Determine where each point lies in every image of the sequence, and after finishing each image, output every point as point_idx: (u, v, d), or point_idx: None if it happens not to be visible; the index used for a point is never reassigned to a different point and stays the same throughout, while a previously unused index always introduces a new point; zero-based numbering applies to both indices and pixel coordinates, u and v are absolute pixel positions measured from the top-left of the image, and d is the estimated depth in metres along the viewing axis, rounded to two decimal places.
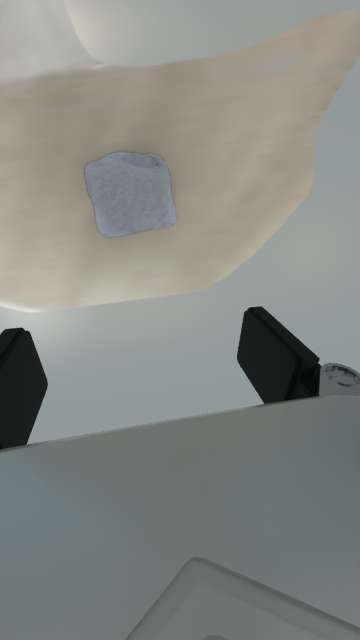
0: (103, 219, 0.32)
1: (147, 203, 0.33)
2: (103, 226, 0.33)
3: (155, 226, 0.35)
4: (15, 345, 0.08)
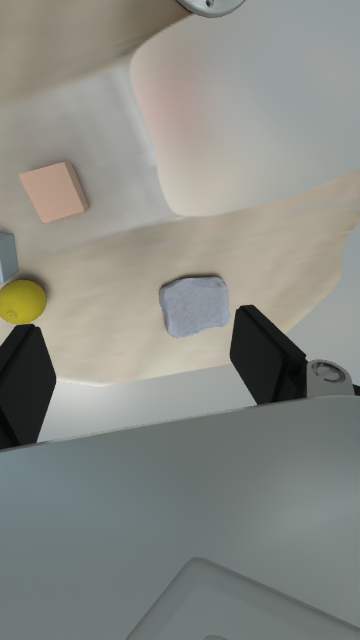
0: (175, 327, 0.40)
1: (208, 312, 0.40)
2: (173, 332, 0.40)
3: (213, 326, 0.42)
4: (27, 340, 0.08)
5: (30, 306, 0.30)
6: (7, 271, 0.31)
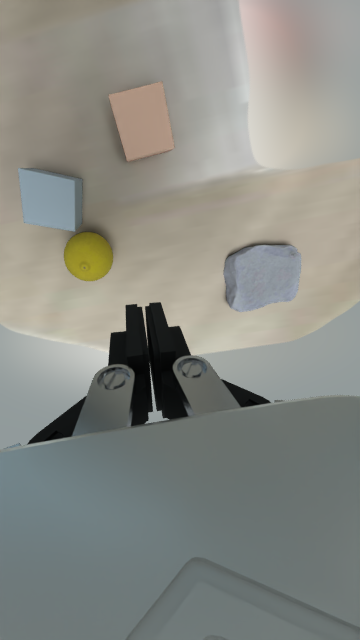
0: (242, 300, 0.37)
1: (277, 285, 0.37)
2: (239, 305, 0.37)
3: (278, 301, 0.39)
4: (141, 316, 0.10)
5: (103, 260, 0.27)
6: (77, 219, 0.27)
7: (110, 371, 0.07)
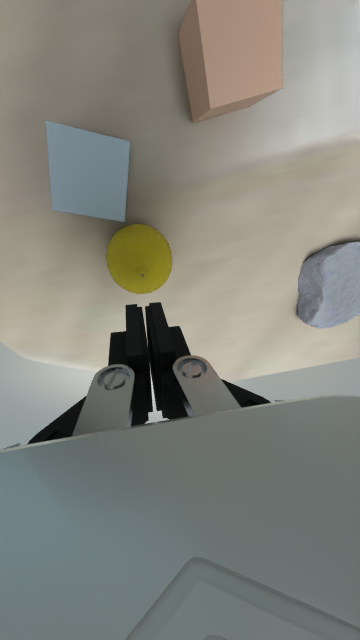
0: (327, 314, 0.28)
1: None
2: (322, 320, 0.29)
3: None
4: (142, 316, 0.10)
5: (166, 262, 0.18)
6: None
7: (110, 371, 0.07)
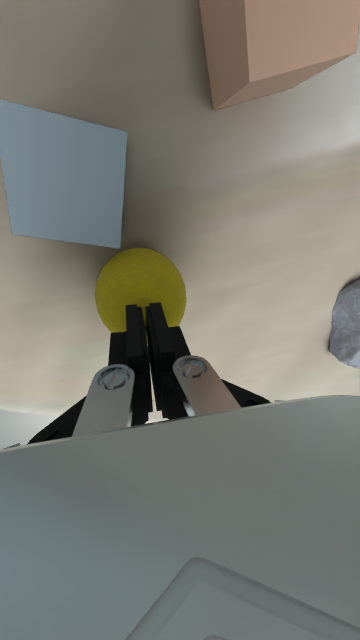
0: None
1: None
2: None
3: None
4: (141, 316, 0.10)
5: (179, 305, 0.13)
6: None
7: (110, 371, 0.07)
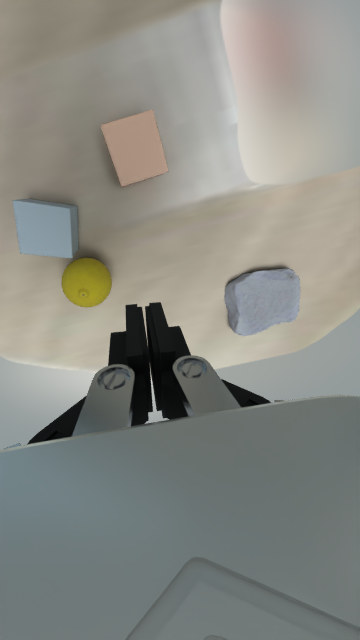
0: (245, 325, 0.37)
1: (278, 307, 0.38)
2: (242, 329, 0.38)
3: (281, 322, 0.40)
4: (141, 316, 0.10)
5: (102, 285, 0.26)
6: (74, 246, 0.27)
7: (110, 371, 0.07)
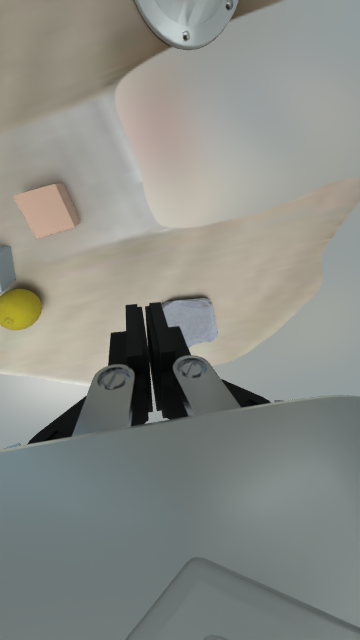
0: None
1: (197, 330, 0.44)
2: None
3: (202, 341, 0.46)
4: (142, 316, 0.10)
5: (26, 313, 0.33)
6: (5, 281, 0.33)
7: (110, 371, 0.07)
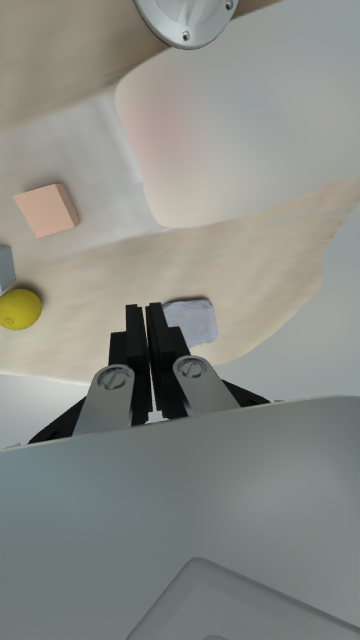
0: None
1: (197, 331, 0.45)
2: None
3: (202, 342, 0.47)
4: (142, 316, 0.10)
5: (26, 314, 0.33)
6: (5, 281, 0.33)
7: (110, 371, 0.07)
